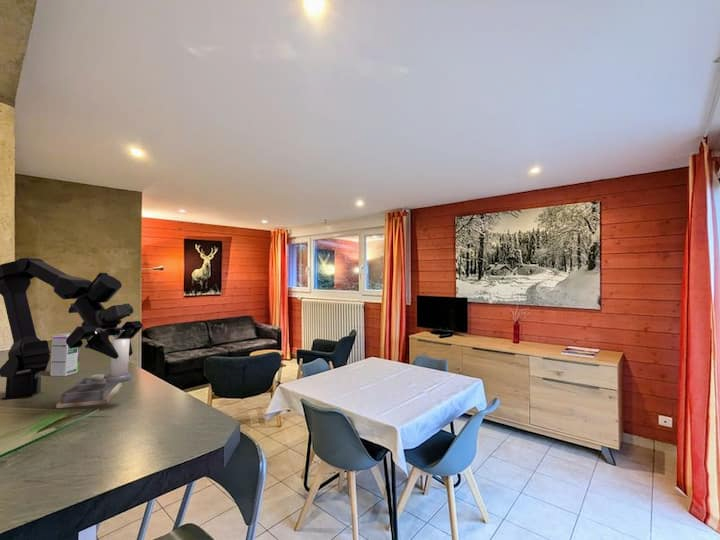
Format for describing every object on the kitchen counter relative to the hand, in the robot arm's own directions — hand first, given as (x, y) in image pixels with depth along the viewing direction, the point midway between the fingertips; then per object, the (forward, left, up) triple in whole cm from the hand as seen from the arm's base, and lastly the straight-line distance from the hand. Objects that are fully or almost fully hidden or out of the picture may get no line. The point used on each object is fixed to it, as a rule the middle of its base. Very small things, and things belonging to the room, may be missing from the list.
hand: (124, 356), depth 94 cm
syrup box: (-26, +46, -14) cm, 55 cm away
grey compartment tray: (-10, +13, -13) cm, 21 cm away
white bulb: (-1, +1, -7) cm, 7 cm away
